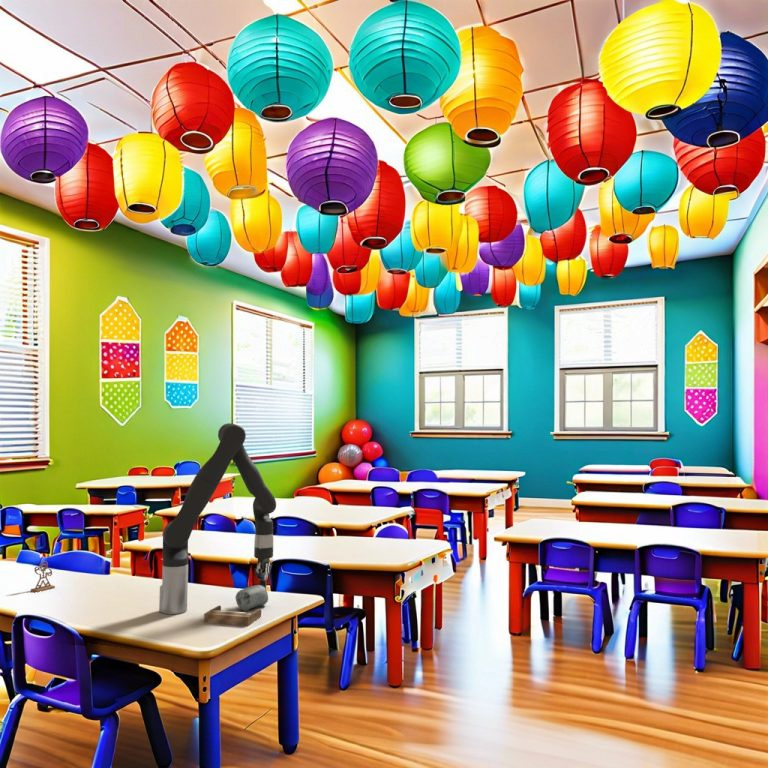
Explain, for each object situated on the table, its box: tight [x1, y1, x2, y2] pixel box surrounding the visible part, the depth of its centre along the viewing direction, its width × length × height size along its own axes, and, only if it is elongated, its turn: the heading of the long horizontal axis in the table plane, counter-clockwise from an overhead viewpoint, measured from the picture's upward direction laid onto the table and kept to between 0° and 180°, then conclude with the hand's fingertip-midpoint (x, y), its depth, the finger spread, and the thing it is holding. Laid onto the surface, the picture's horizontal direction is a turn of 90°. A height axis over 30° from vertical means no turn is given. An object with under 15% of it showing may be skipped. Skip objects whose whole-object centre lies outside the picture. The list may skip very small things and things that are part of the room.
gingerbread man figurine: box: [30, 560, 56, 593], centre depth 287 cm, size 9×4×12 cm, turn 154°
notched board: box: [203, 605, 262, 627], centre depth 246 cm, size 17×11×4 cm, turn 77°
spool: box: [235, 584, 269, 612], centre depth 262 cm, size 14×10×10 cm
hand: (263, 589), depth 272 cm, fingers closed
